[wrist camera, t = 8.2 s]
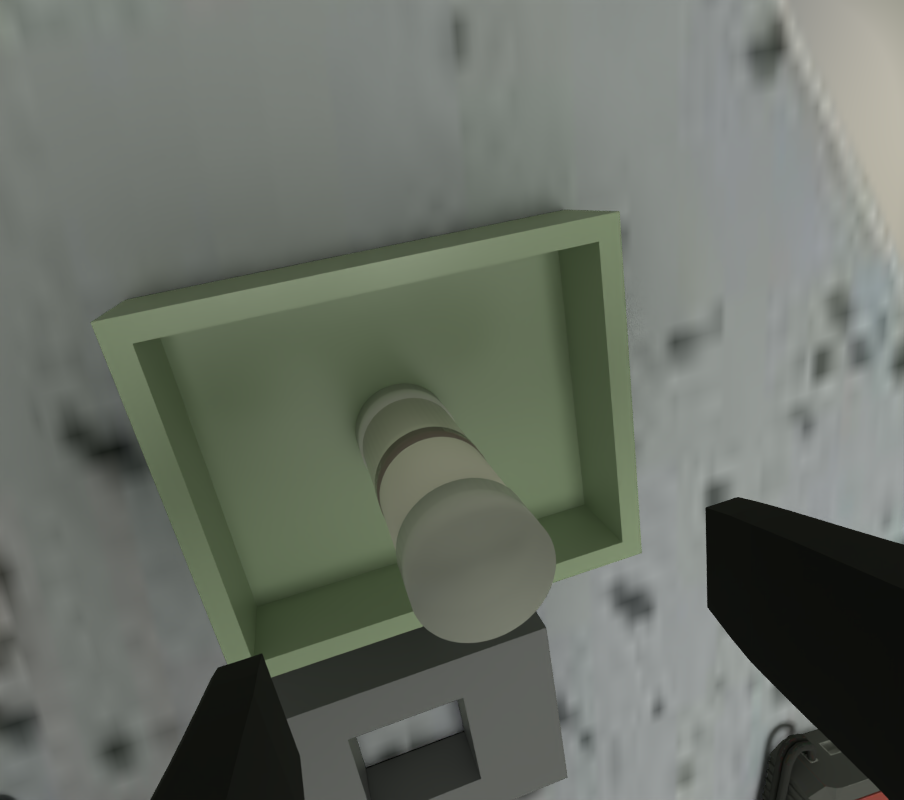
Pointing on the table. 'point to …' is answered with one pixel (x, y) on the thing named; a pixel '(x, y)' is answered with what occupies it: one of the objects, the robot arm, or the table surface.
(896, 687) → the robot arm
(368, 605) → the parts tray
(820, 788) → the red belt-clip case
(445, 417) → the cylinder
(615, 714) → the table surface
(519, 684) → the fuse block
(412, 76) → the table surface
